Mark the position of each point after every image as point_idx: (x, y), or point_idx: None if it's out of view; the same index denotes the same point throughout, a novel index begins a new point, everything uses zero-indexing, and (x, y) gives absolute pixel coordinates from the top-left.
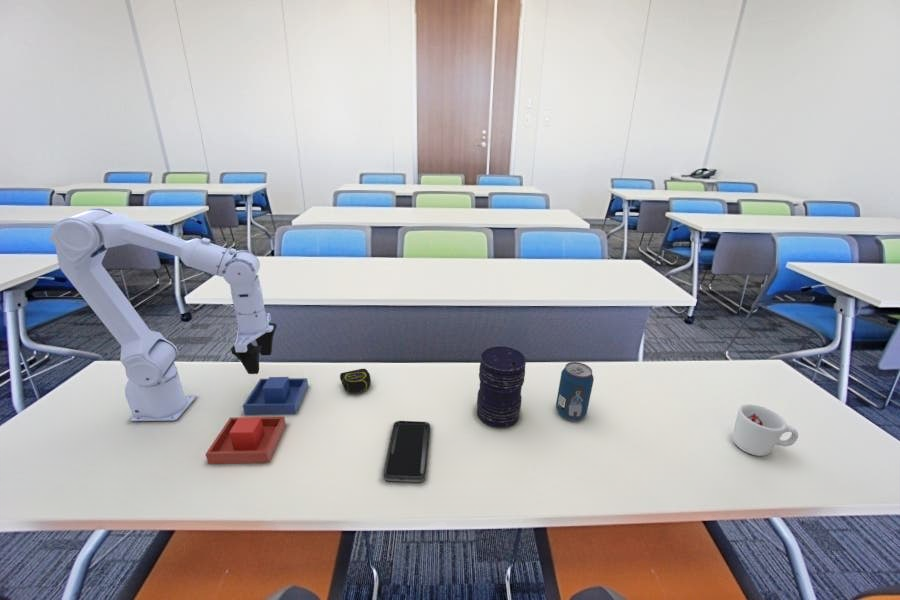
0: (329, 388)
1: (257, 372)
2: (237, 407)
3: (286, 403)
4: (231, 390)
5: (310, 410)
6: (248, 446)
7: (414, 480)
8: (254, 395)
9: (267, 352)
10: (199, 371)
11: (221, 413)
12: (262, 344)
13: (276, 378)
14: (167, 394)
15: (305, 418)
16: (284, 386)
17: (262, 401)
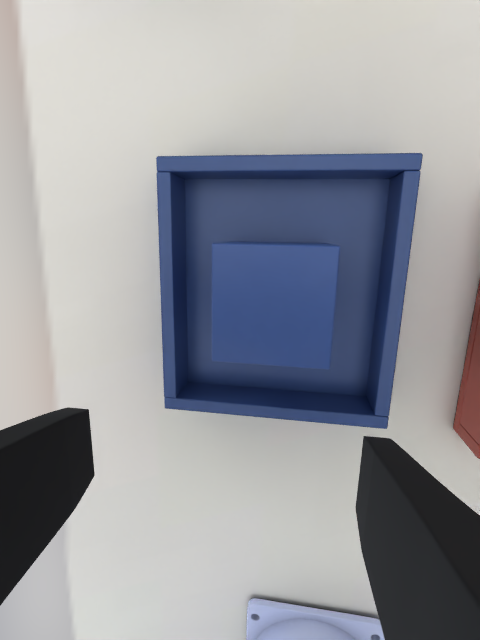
0: (190, 37)
1: (397, 446)
2: (319, 443)
3: (401, 208)
4: (202, 494)
5: (381, 93)
6: None
7: None
8: (279, 398)
9: (73, 442)
10: (88, 621)
11: (353, 489)
12: (6, 540)
13: (228, 313)
14: None
15: (448, 101)
16: (299, 244)
17: None
